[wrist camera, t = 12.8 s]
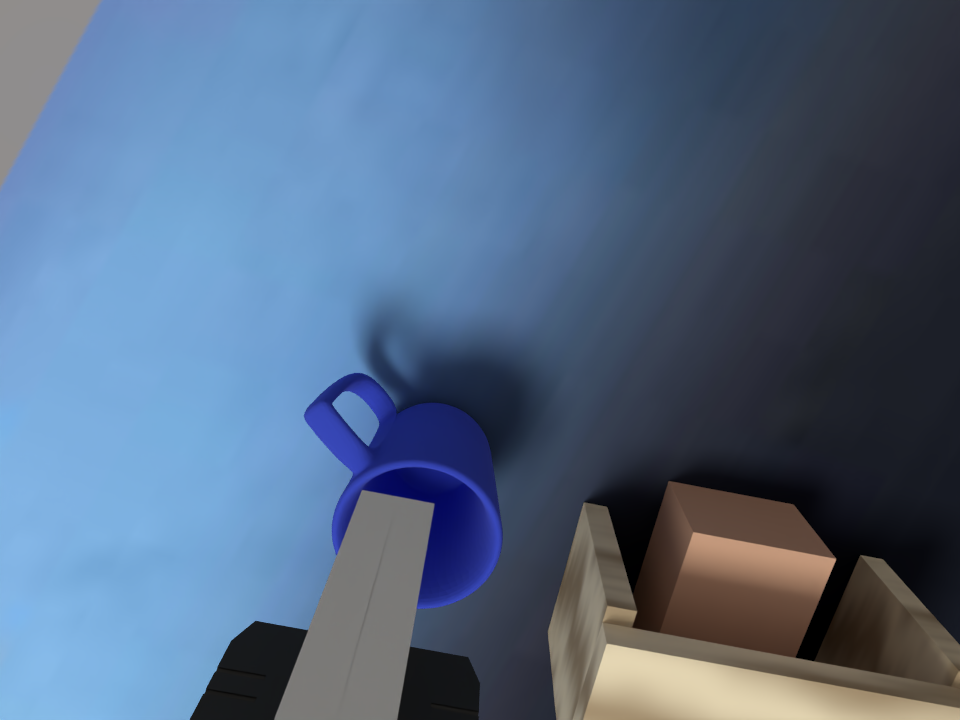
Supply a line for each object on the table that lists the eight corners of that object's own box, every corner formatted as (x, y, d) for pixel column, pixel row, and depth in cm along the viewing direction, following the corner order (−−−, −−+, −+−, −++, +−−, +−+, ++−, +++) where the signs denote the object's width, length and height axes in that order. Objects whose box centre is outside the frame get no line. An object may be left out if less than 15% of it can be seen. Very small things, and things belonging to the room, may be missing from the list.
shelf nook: (583, 502, 44) (612, 626, 33) (882, 559, 44) (1008, 699, 33) (544, 643, 47) (558, 798, 36) (822, 694, 48) (918, 861, 37)
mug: (403, 307, 40) (374, 362, 30) (528, 460, 43) (537, 553, 33) (298, 388, 42) (239, 464, 32) (424, 530, 45) (404, 638, 35)
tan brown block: (667, 479, 43) (693, 532, 38) (792, 502, 43) (836, 558, 38) (618, 635, 47) (635, 705, 41) (733, 656, 47) (765, 728, 42)
